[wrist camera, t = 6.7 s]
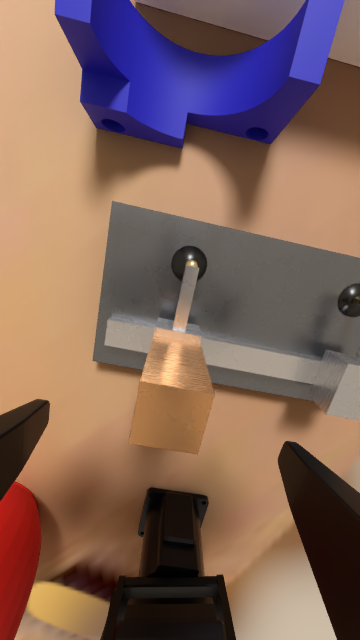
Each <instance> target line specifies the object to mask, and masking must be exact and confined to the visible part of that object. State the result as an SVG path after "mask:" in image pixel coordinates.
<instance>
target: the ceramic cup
mask: <svg viewBox="0 0 360 640" xmlns="http://www.w3.org/2000/svg"><path fill="white" fill-rule="evenodd" d="M40 549H41V527H40V519H39V514H38V510H37V502H36V499H35V497H34V496H33V494H32V493H31V492H30V491H29V490H28V489H27V488H25V487H24V486H22V485H20V484H19V483H16V482H14V483H13V484H12V485H11V487H10V488H9V490H8V491H7V493H6V494H5V496H4V497H3V499H2V500H1V501H0V640H14V638H15V636H16V633H17V630H18V628H19V625H20V622H21V619H22V617H23V614H24V611H25V608H26V605H27V602H28V599H29V596H30V593H31V590H32V586H33V583H34V579H35V575H36V571H37V566H38V561H39V555H40Z"/></svg>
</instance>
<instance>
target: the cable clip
mask: <svg viewBox="0 0 360 640" xmlns="http://www.w3.org/2000/svg"><path fill="white" fill-rule="evenodd" d="M344 1H345V0H306V1H305V2H304V4H303V5H302V7H301V8H300V10H299V11H298V13H297V14H296V15H295V17H294V18H293V19H292V20H291V21H290V23H289V24H288V25H287V26H286V27H285V28H284V29H283V30H282V31H280V32H279V33H278V34H277V35H276V36H275V37H273V38H272V39H270V40H269V41H267V42H266V43H264V44H262V45H261V46H259V47H257V48H254V49H252V50H250V51H247V52H244V53H240V54H235V55H228V56H213V55H205V54H200V53H197V52H193V51H190V50H188V49H185V48H183V47H181V46H179V45H177V44H175V43H173V42H172V41H170V40H169V39H167V38H166V37H164V36H163V35H161V34H160V33H159V32H158V31H156V30H155V29H154V28H153V27H152V26H151V25H150V24H149V23H148V22H147V21H146V20H145V19H144V18H143V17H142V16H141V15H140V14H139V12H138V11H137V10H136V9H135V7H134V6H133V5H132V3H131V2H130V0H55V16H56V18H57V20H58V22H59V24H60V26H61V28H62V30H63V32H64V33H65V35H66V37H67V39H68V41H69V43H70V45H71V47H72V49H73V51H74V53H75V55H76V57H77V59H78V61H79V63H80V65H81V67H82V81H81V95H80V102H81V104H82V105H83V107H84V109H85V110H86V112H87V113H88V115H89V117H90V118H91V120H92V121H93V123H94V125H95V126H96V128H99V129H103V130H107V131H112V132H116V133H120V134H124V135H128V136H133V137H137V138H141V139H145V140H149V141H153V142H158V143H162V144H166V145H170V146H174V147H178V148H183V143H184V137H185V132H186V126H187V124H191V125H195V126H199V127H203V128H207V129H211V130H215V131H219V132H223V133H227V134H231V135H235V136H239V137H243V138H247V139H251V140H255V141H259V142H263V143H268V144H271V143H272V142H273V141H274V140H275V138H276V137H277V136H278V135H279V134H280V132H281V131H282V130H283V129H284V128H285V126H286V125H287V124H288V123H289V122H290V120H291V119H292V118H293V117H294V116H295V114H296V113H297V112H298V111H299V109H300V108H301V107H302V106H303V105H304V103H305V102H306V101H307V100H308V99H309V97H310V96H311V95H312V94H313V93H314V91H315V90H316V89H317V88H318V87H319V85H320V83H321V80H322V76H323V73H324V69H325V66H326V63H327V59H328V56H329V52H330V49H331V45H332V42H333V39H334V35H335V32H336V28H337V25H338V21H339V18H340V14H341V11H342V8H343V4H344Z"/></svg>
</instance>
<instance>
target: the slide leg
mask: <svg viewBox="0 0 360 640" xmlns="http://www.w3.org/2000/svg"><path fill="white" fill-rule="evenodd" d="M198 272H199V267H198V265H197V262H196V261H194V260H188V261H187V262H186V263H185V270H184V275H183V280H182V285H181V289H180V294H179V299H178V304H177V308H176V313H175V318H174V320H169V319H164V318H159V317H158V319H157V322H156V326H155V330H154V335H153V338H152V342H151V345H150V349H149V352H148V355H147V359H146V362H145V365H144V369H143V372H142V376H141V379H140V383H139V389H138V394H137V399H136V405H135V410H134V416H133V421H132V427H131V432H130V437H129V444H135V445H142V446H148V447H154V448H160V449H167V450H173V451H179V452H185V453H191V454H198V452H199V448H200V444H201V441H202V437H203V434H204V430H205V427H206V423H207V420H208V416H209V413H210V409H211V406H212V402H213V399H214V395H215V394H214V390H213V386H212V383H211V379H210V375H209V372H208V368H207V365H206V361H205V357H204V354H203V350H202V346H201V341H202V337H203V336H202V333H201V330H200V327H199V325H194V324H189V323H187V321H188V316H189V312H190V307H191V303H192V299H193V294H194V290H195V285H196V281H197V277H198Z"/></svg>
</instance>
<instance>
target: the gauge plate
mask: <svg viewBox="0 0 360 640" xmlns="http://www.w3.org/2000/svg"><path fill="white" fill-rule="evenodd" d="M188 260H194V261H196V262H197V265H198V267H199V272H198V277H197V281H196V285H195V290H194V294H193V299H192V303H191V307H190V312H189V316H188V321H187V323H189V324H194V325H199V327H200V330H201V333H202V336H203V337H202V341H201V346H202V350H203V354H204V357H205V361H206V365H207V368H208V372H209V375H210V379H211V383H216V384H222V385H227V386H233V387H238V388H244V389H249V390H255V391H260V392H266V393H271V394H277V395H282V396H288V397H293V398H299V399H304V400H310V401H314V402H315V403H316V404H317V405H318V406H319V407H320V409H321V410H322V411H323V412H324V413H325V414H326V415H332V416H337V417H343V418H348V419H354V420H360V258H357V257H353V256H349V255H344V254H340V253H336V252H331V251H327V250H323V249H318V248H314V247H310V246H305V245H301V244H297V243H292V242H288V241H283V240H279V239H275V238H270V237H266V236H262V235H257V234H253V233H249V232H244V231H240V230H236V229H231V228H227V227H223V226H218V225H214V224H210V223H205V222H201V221H197V220H192V219H188V218H184V217H179V216H175V215H171V214H166V213H162V212H158V211H153V210H149V209H145V208H140V207H136V206H132V205H127V204H123V203H119V202H114V201H112V207H111V215H110V223H109V231H108V239H107V248H106V256H105V264H104V272H103V280H102V289H101V297H100V305H99V313H98V321H97V329H96V338H95V346H94V354H93V361H96V362H102V363H107V364H113V365H118V366H123V367H129V368H134V369H140V370H143V369H144V365H145V362H146V359H147V355H148V352H149V349H150V345H151V342H152V338H153V335H154V330H155V326H156V322H157V319H158V317H159V318H164V319H169V320H174V318H175V313H176V308H177V304H178V299H179V294H180V289H181V285H182V280H183V275H184V270H185V263H186V262H187V261H188Z"/></svg>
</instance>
